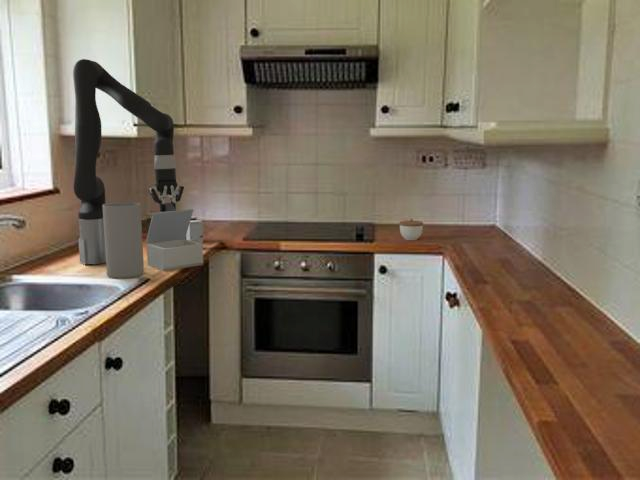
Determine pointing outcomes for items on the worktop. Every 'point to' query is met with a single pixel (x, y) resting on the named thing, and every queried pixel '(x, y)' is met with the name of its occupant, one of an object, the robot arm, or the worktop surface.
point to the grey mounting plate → (169, 225)
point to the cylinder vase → (123, 239)
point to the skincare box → (195, 231)
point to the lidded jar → (411, 229)
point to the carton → (174, 254)
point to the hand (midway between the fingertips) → (168, 213)
